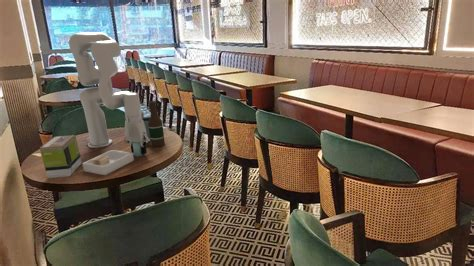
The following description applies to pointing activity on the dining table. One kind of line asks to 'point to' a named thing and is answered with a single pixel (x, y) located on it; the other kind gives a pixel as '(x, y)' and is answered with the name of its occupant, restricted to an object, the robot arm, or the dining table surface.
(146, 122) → the drinking glass
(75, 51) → the robot arm
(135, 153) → the teal cylinder
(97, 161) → the maple cube
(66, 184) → the dining table surface
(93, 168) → the white tray
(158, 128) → the beer bottle
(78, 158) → the tea box
